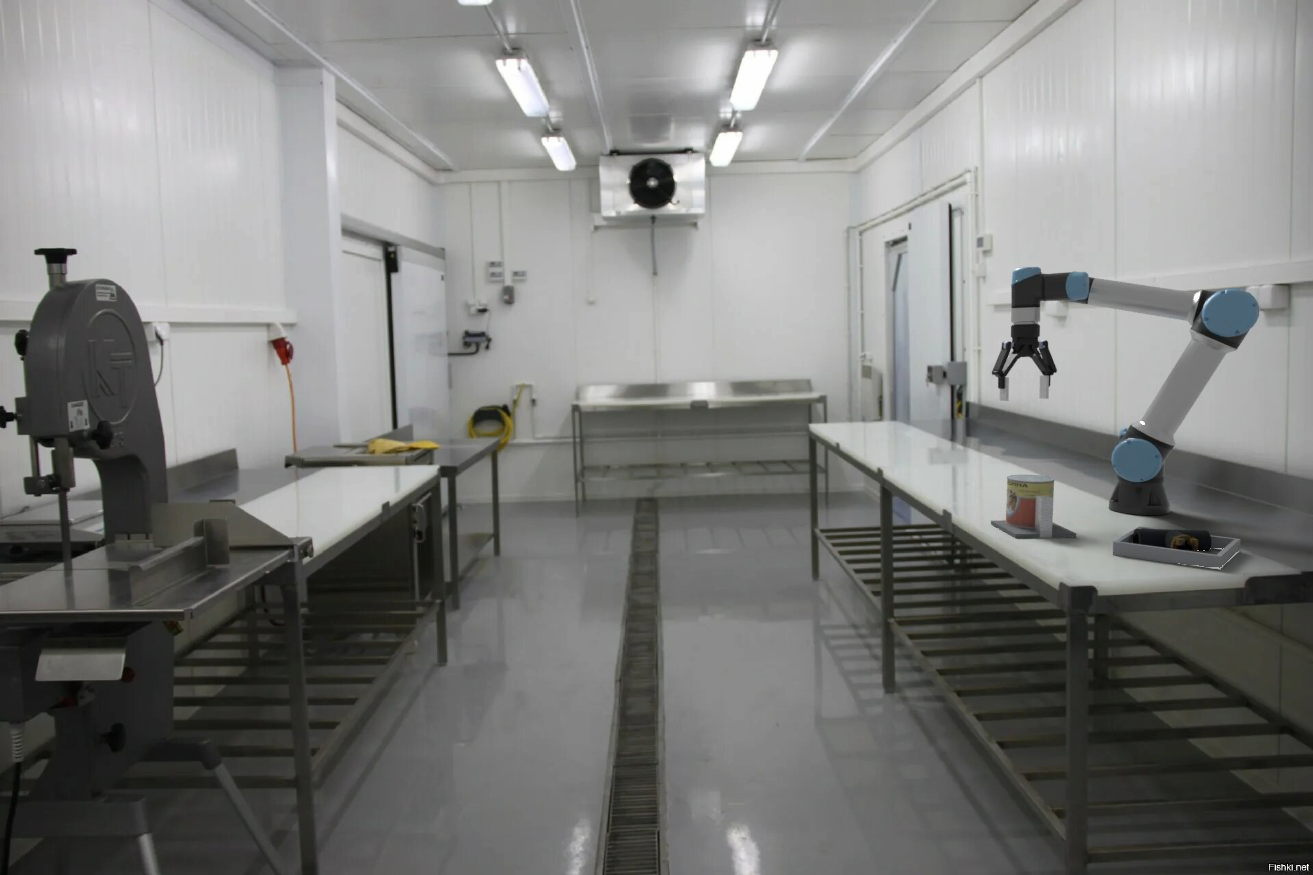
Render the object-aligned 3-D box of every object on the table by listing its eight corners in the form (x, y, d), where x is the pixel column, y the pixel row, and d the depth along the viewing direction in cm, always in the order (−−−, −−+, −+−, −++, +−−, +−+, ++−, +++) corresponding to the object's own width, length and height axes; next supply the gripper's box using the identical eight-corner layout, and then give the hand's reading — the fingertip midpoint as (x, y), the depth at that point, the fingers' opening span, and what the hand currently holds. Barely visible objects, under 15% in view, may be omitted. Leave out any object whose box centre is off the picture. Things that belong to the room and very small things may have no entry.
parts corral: (1239, 551, 206) (1240, 538, 206) (1220, 570, 191) (1220, 556, 190) (1138, 538, 220) (1139, 526, 220) (1112, 554, 205) (1113, 541, 204)
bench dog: (1034, 535, 225) (1036, 495, 224) (1046, 534, 225) (1048, 495, 224) (1039, 537, 222) (1041, 497, 221) (1051, 537, 222) (1053, 497, 221)
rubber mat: (990, 524, 238) (990, 520, 238) (1047, 523, 238) (1047, 519, 238) (1015, 538, 222) (1015, 534, 222) (1076, 537, 222) (1076, 533, 222)
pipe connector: (1225, 537, 198) (1152, 536, 201) (1224, 561, 199) (1151, 559, 201) (1202, 527, 210) (1133, 526, 212) (1201, 550, 210) (1132, 548, 213)
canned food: (997, 520, 238) (998, 475, 236) (1037, 518, 239) (1039, 474, 238) (1019, 529, 227) (1021, 482, 225) (1061, 527, 228) (1063, 480, 227)
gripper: (1052, 323, 260) (1050, 397, 262) (979, 324, 252) (978, 400, 254) (1071, 322, 252) (1069, 398, 255) (997, 324, 245) (996, 402, 247)
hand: (1024, 399), depth 254 cm, fingers open, 13 cm apart
